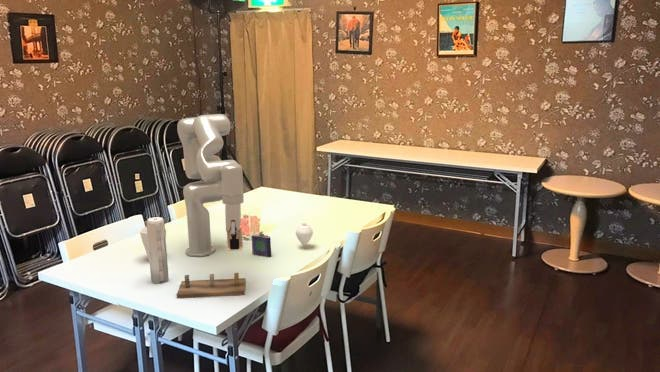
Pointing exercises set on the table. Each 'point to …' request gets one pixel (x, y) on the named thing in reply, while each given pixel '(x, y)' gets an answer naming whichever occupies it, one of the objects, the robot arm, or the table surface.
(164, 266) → the beige tall cylinder
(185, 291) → the pin board
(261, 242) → the flask
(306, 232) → the spinning top
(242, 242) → the sleeve
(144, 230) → the cup
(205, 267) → the table surface
